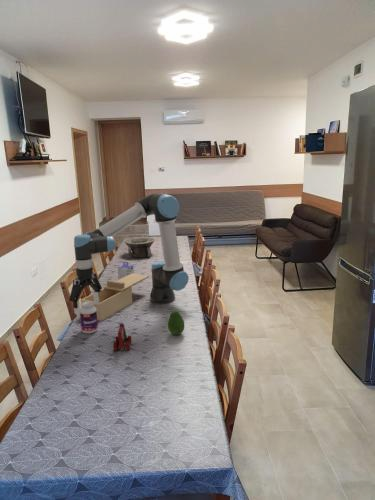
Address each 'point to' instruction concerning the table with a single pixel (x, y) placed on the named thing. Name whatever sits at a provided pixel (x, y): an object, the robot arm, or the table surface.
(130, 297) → the mailer box
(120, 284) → the lid
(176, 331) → the fruit
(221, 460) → the table surface
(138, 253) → the bowl
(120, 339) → the red pointed piece
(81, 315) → the pill bottle
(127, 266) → the ink cartridge box
